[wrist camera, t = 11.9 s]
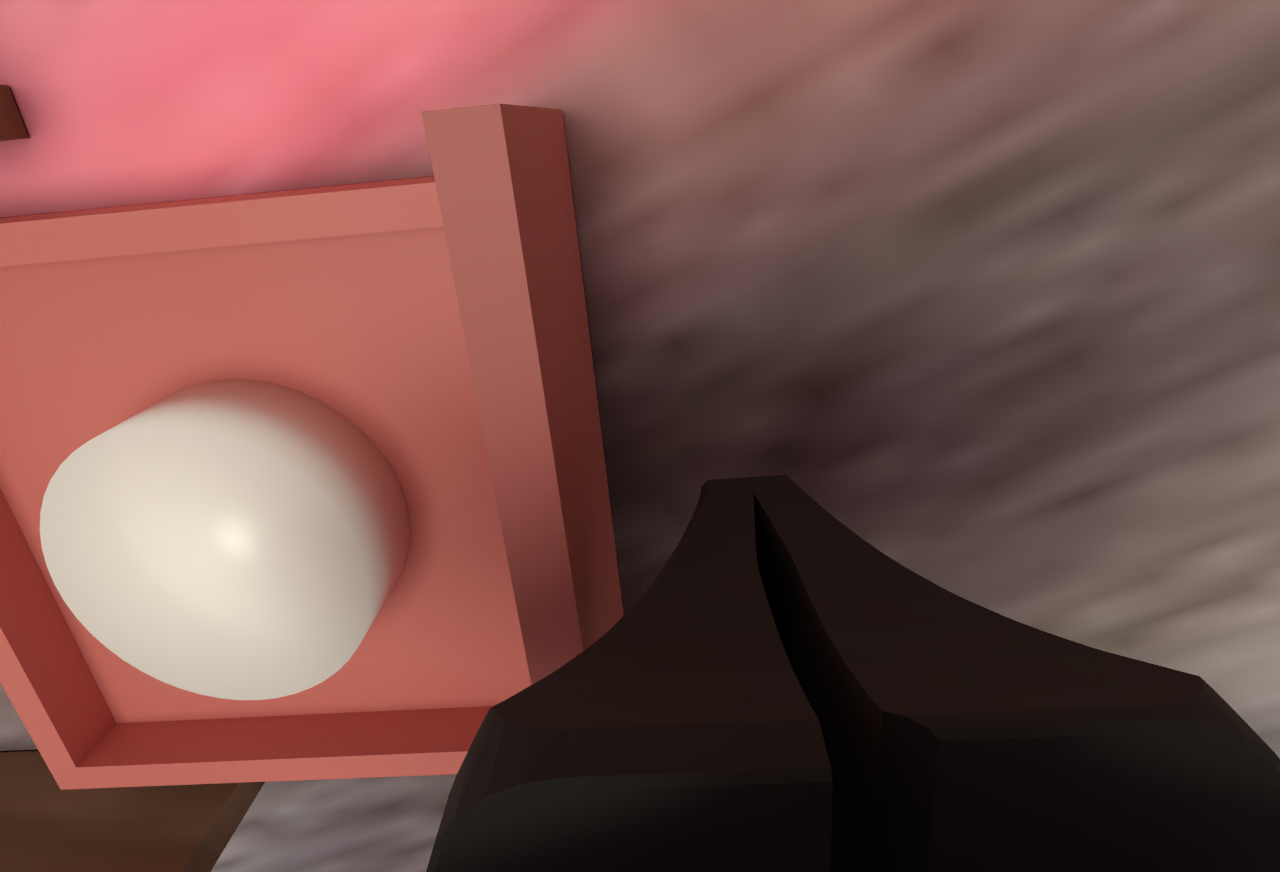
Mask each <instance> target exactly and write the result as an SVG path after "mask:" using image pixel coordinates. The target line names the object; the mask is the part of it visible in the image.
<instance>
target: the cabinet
mask: <svg viewBox="0 0 1280 872" xmlns="http://www.w3.org/2000/svg"><path fill="white" fill-rule="evenodd" d="M24 138H29V137H28V135H27V132H26V129H25V127H24V124H23V122H22V119H21V117H20V114H19V112H18V109H17V107H16V104H15V101H14V99H13V96H12V94H11V91H10V89H9V86H4V85H0V141H5V140H15V139H24ZM263 784H264V782H243V783H217V784H192V785H167V786H142V787H116V788H91V789H66V790H60V788H59V786H58V784H57V782H56V781H55V779H54V777H53V775H52V773H51V772H50V770H49V768H48V766H47V765H46V763H45V761H44V759H43V757H42V756H41V754H40V752H39V751H22V752H0V872H210V871H211V870H212V868H213V866H214V865H215V863H216V862H217V860H218V858H219V857H220V855H221V853H222V852H223V850H224V848H225V847H226V845H227V843H228V842H229V840H230V838H231V837H232V835H233V834H234V832H235V830H236V829H237V827H238V825H239V824H240V822H241V820H242V819H243V817H244V815H245V814H246V812H247V810H248V809H249V807H250V806H251V804H252V802H253V801H254V799H255V797H256V796H257V794H258V792H259V791H260V789H261V787H262V786H263Z"/></svg>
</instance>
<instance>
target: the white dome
mask: <svg viewBox="0 0 1280 872" xmlns="http://www.w3.org/2000/svg"><path fill="white" fill-rule="evenodd" d="M40 538H41V546H42V551H43V554H44V558H45V562H46V565H47V568H48V570H49V573H50V575H51V577H52V580H53V582H54V584H55V586H56V588H57V590H58V591H59V593H60V595H61V597H62V598H63V600H64V602H65V603H66V604H67V606H68V607H69V608H70V610H71V611H72V613H73V614H74V615H75V617H76V618H77V619H78V620H79V621H80V622H81V623H82V625H83V626H84V627H85V628H86V629H87V630H88V631H89V632H90V633H91V634H92V635H93V636H94V637H95V638H96V639H97V640H98V641H100V642H101V643H102V644H103V645H104V646H105V647H106V648H108V649H109V650H110V651H112V652H113V653H114V654H116V655H117V656H118V657H120V658H121V659H122V660H124V661H125V662H127V663H129V664H130V665H132V666H133V667H135V668H137V669H138V670H140V671H142V672H144V673H146V674H148V675H150V676H152V677H154V678H156V679H158V680H160V681H162V682H165V683H167V684H170V685H172V686H175V687H177V688H180V689H183V690H187V691H190V692H193V693H197V694H200V695H206V696H211V697H216V698H222V699H232V700H264V699H274V698H280V697H284V696H288V695H293V694H296V693H299V692H301V691H304V690H307V689H310V688H312V687H314V686H316V685H317V684H319V683H321V682H323V681H325V680H326V679H328V678H329V677H331V676H332V675H333V674H335V673H336V672H337V671H339V670H340V669H341V668H342V667H343V666H344V664H345V663H346V662H347V661H348V660H349V659H350V658H351V657H352V655H353V654H354V652H355V651H356V649H357V648H358V647H359V645H360V643H361V642H362V640H363V638H364V636H365V635H366V633H367V631H368V630H369V628H370V626H371V624H372V623H373V621H374V619H375V618H376V616H377V614H378V613H379V611H380V609H381V607H382V606H383V604H384V602H385V601H386V599H387V597H388V595H389V594H390V592H391V590H392V589H393V587H394V585H395V584H396V582H397V580H398V578H399V576H400V574H401V572H402V570H403V568H404V565H405V562H406V558H407V555H408V551H409V543H410V519H409V514H408V508H407V503H406V500H405V497H404V494H403V491H402V488H401V486H400V484H399V482H398V480H397V478H396V476H395V474H394V471H393V470H392V468H391V467H390V465H389V464H388V462H387V460H386V459H385V457H384V456H383V454H382V453H381V452H380V451H379V450H378V448H377V447H376V446H375V445H374V444H373V442H372V441H371V440H370V439H369V438H368V437H367V436H366V435H365V434H364V433H363V432H362V431H361V430H360V429H359V428H358V427H357V426H356V425H354V424H353V423H352V422H350V421H349V420H348V419H347V418H345V417H344V416H343V415H341V414H340V413H339V412H337V411H335V410H334V409H332V408H330V407H329V406H327V405H326V404H324V403H322V402H321V401H318V400H316V399H314V398H312V397H310V396H308V395H306V394H304V393H301V392H298V391H296V390H293V389H290V388H287V387H284V386H280V385H276V384H271V383H267V382H262V381H253V380H244V379H232V380H217V381H211V382H204V383H201V384H197V385H194V386H191V387H187V388H185V389H183V390H181V391H179V392H177V393H174V394H172V395H170V396H168V397H167V398H165V399H163V400H161V401H159V402H158V403H156V404H154V405H152V406H151V407H149V408H147V409H145V410H143V411H142V412H140V413H138V414H136V415H134V416H133V417H131V418H129V419H127V420H125V421H124V422H122V423H120V424H118V425H116V426H115V427H113V428H111V429H109V430H107V431H106V432H104V433H102V434H100V435H98V436H97V437H95V438H93V439H91V440H89V441H88V442H86V443H85V444H83V445H82V446H81V447H79V448H78V449H76V450H75V451H74V452H72V453H71V454H70V456H69V457H68V458H67V459H66V460H65V461H64V462H63V463H62V464H61V465H60V466H59V468H58V469H57V471H56V472H55V474H54V475H53V477H52V478H51V480H50V482H49V485H48V487H47V489H46V492H45V494H44V498H43V502H42V507H41V512H40Z"/></svg>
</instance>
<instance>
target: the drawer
mask: <svg viewBox="0 0 1280 872" xmlns="http://www.w3.org/2000/svg"><path fill="white" fill-rule="evenodd" d="M422 117H423V122H424V127H425V132H426V138H427V143H428V148H429V153H430V158H431V164H432V169H433V174H434V176H431V177H421V178H410V179H400V180H390V181H379V182H369V183H358V184H348V185H338V186H327V187H317V188H306V189H296V190H285V191H275V192H265V193H254V194H244V195H233V196H223V197H213V198H202V199H192V200H181V201H171V202H160V203H150V204H140V205H129V206H119V207H108V208H98V209H88V210H77V211H67V212H56V213H46V214H35V215H25V216H15V217H4V218H0V683H1V684H2V686H3V688H4V690H5V691H6V693H7V695H8V697H9V699H10V700H11V702H12V704H13V706H14V708H15V709H16V711H17V713H18V715H19V716H20V718H21V720H22V722H23V724H24V725H25V727H26V729H27V731H28V732H29V734H30V736H31V738H32V740H33V741H34V743H35V745H36V747H37V749H38V750H39V752H40V754H41V756H42V757H43V759H44V761H45V763H46V765H47V766H48V768H49V770H50V772H51V773H52V775H53V777H54V779H55V781H56V782H57V784H58V786H59V788H60V790H66V789H91V788H116V787H142V786H167V785H192V784H217V783H243V782H268V781H293V780H319V779H344V778H369V777H395V776H420V775H445V774H457V773H458V771H459V769H460V767H461V765H462V763H463V761H464V759H465V756H466V754H467V752H468V750H469V748H470V746H471V744H472V742H473V740H474V738H475V736H476V734H477V732H478V730H479V728H480V726H481V724H482V722H483V720H484V718H485V716H486V714H487V712H488V710H489V709H490V708H491V707H493V706H495V705H497V704H499V703H501V702H503V701H504V700H506V699H508V698H510V697H511V696H513V695H515V694H517V693H518V692H520V691H522V690H524V689H525V688H527V687H529V686H531V685H532V684H534V683H536V682H538V681H539V680H541V679H543V678H545V677H546V676H548V675H550V674H551V673H553V672H554V671H556V670H557V669H559V668H560V667H562V666H563V665H565V664H566V663H567V662H569V661H570V660H572V659H573V658H575V657H576V656H577V655H579V654H580V653H582V652H583V651H584V650H585V649H587V648H588V647H589V646H591V645H592V644H593V643H594V642H596V641H597V640H598V639H600V638H601V637H602V636H603V635H604V634H605V633H606V632H608V631H609V630H610V629H611V628H612V627H613V626H614V625H615V624H616V623H617V622H618V621H619V620H620V619H621V618H622V617H623V616H624V614H623V606H622V598H621V590H620V581H619V573H618V565H617V557H616V549H615V540H614V532H613V524H612V516H611V507H610V499H609V491H608V483H607V475H606V466H605V458H604V450H603V442H602V434H601V425H600V417H599V409H598V401H597V393H596V384H595V376H594V368H593V360H592V351H591V343H590V335H589V327H588V319H587V310H586V302H585V294H584V286H583V278H582V269H581V261H580V253H579V245H578V237H577V228H576V220H575V212H574V204H573V195H572V187H571V179H570V171H569V163H568V154H567V146H566V138H565V130H564V122H563V113H562V110H558V109H548V108H538V107H528V106H517V105H507V104H493V105H483V106H474V107H464V108H454V109H444V110H434V111H425V112H422ZM232 379H244V380H253V381H262V382H267V383H271V384H276V385H280V386H284V387H287V388H290V389H293V390H296V391H298V392H301V393H304V394H306V395H308V396H310V397H312V398H314V399H316V400H318V401H321V402H322V403H324V404H326V405H327V406H329V407H330V408H332V409H334V410H335V411H337V412H339V413H340V414H341V415H343V416H344V417H345V418H347V419H348V420H349V421H350V422H352V423H353V424H354V425H356V426H357V427H358V428H359V429H360V430H361V431H362V432H363V433H364V434H365V435H366V436H367V437H368V438H369V439H370V440H371V441H372V442H373V444H374V445H375V446H376V447H377V448H378V450H379V451H380V452H381V453H382V454H383V456H384V457H385V459H386V460H387V462H388V464H389V465H390V467H391V468H392V470H393V471H394V474H395V476H396V478H397V480H398V482H399V484H400V486H401V488H402V491H403V494H404V497H405V500H406V503H407V508H408V514H409V519H410V543H409V551H408V555H407V558H406V562H405V565H404V568H403V570H402V572H401V574H400V576H399V578H398V580H397V582H396V584H395V585H394V587H393V589H392V590H391V592H390V594H389V595H388V597H387V599H386V601H385V602H384V604H383V606H382V607H381V609H380V611H379V613H378V614H377V616H376V618H375V619H374V621H373V623H372V624H371V626H370V628H369V630H368V631H367V633H366V635H365V636H364V638H363V640H362V642H361V643H360V645H359V647H358V648H357V649H356V651H355V652H354V654H353V655H352V657H351V658H350V659H349V660H348V661H347V662H346V663H345V664H344V666H343V667H342V668H341V669H340V670H339V671H337V672H336V673H335V674H333V675H332V676H331V677H329V678H328V679H326V680H325V681H323V682H321V683H319V684H317V685H316V686H314V687H312V688H310V689H307V690H304V691H301V692H299V693H296V694H293V695H288V696H284V697H280V698H274V699H264V700H232V699H222V698H216V697H211V696H206V695H200V694H197V693H193V692H190V691H187V690H183V689H180V688H177V687H175V686H172V685H170V684H167V683H165V682H162V681H160V680H158V679H156V678H154V677H152V676H150V675H148V674H146V673H144V672H142V671H140V670H138V669H137V668H135V667H133V666H132V665H130V664H129V663H127V662H125V661H124V660H122V659H121V658H120V657H118V656H117V655H116V654H114V653H113V652H112V651H110V650H109V649H108V648H106V647H105V646H104V645H103V644H102V643H101V642H100V641H98V640H97V639H96V638H95V637H94V636H93V635H92V634H91V633H90V632H89V631H88V630H87V629H86V628H85V627H84V626H83V625H82V623H81V622H80V621H79V620H78V619H77V618H76V617H75V615H74V614H73V613H72V611H71V610H70V608H69V607H68V606H67V604H66V603H65V602H64V600H63V598H62V597H61V595H60V593H59V591H58V590H57V588H56V586H55V584H54V582H53V580H52V577H51V575H50V573H49V570H48V568H47V565H46V562H45V558H44V554H43V551H42V546H41V538H40V512H41V507H42V502H43V498H44V494H45V492H46V489H47V487H48V485H49V482H50V480H51V478H52V477H53V475H54V474H55V472H56V471H57V469H58V468H59V466H60V465H61V464H62V463H63V462H64V461H65V460H66V459H67V458H68V457H69V456H70V454H71V453H72V452H74V451H75V450H76V449H78V448H79V447H81V446H82V445H83V444H85V443H86V442H88V441H89V440H91V439H93V438H95V437H97V436H98V435H100V434H102V433H104V432H106V431H107V430H109V429H111V428H113V427H115V426H116V425H118V424H120V423H122V422H124V421H125V420H127V419H129V418H131V417H133V416H134V415H136V414H138V413H140V412H142V411H143V410H145V409H147V408H149V407H151V406H152V405H154V404H156V403H158V402H159V401H161V400H163V399H165V398H167V397H168V396H170V395H172V394H174V393H177V392H179V391H181V390H183V389H185V388H187V387H191V386H194V385H197V384H201V383H204V382H211V381H217V380H232Z"/></svg>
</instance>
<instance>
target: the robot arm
mask: <svg viewBox="0 0 1280 872" xmlns="http://www.w3.org/2000/svg"><path fill="white" fill-rule="evenodd" d="M426 872H1280V759H1279V758H1278V756H1277V755H1276V754H1275V753H1274V752H1273V750H1272V749H1271V748H1270V747H1269V746H1268V745H1267V744H1266V743H1265V742H1264V741H1263V740H1262V739H1261V738H1260V737H1259V736H1258V735H1257V734H1256V733H1255V732H1254V731H1253V730H1252V729H1251V728H1250V726H1249V725H1248V724H1247V723H1246V722H1245V721H1244V720H1243V719H1242V718H1241V717H1240V716H1239V715H1238V714H1237V713H1236V712H1235V711H1234V710H1233V709H1232V708H1231V707H1230V706H1229V705H1228V704H1227V703H1226V702H1225V701H1224V700H1223V699H1222V698H1221V697H1220V696H1219V695H1218V694H1217V693H1216V692H1215V690H1214V689H1212V688H1211V687H1210V686H1209V685H1208V684H1207V683H1206V682H1205V681H1204V680H1203V679H1202V678H1201V677H1200V676H1196V675H1192V674H1188V673H1184V672H1181V671H1177V670H1173V669H1169V668H1165V667H1162V666H1158V665H1154V664H1150V663H1146V662H1143V661H1139V660H1135V659H1131V658H1127V657H1124V656H1120V655H1116V654H1112V653H1108V652H1105V651H1101V650H1098V649H1095V648H1091V647H1088V646H1085V645H1082V644H1079V643H1076V642H1073V641H1070V640H1067V639H1064V638H1061V637H1059V636H1056V635H1053V634H1050V633H1047V632H1044V631H1041V630H1038V629H1035V628H1033V627H1030V626H1028V625H1025V624H1022V623H1020V622H1017V621H1014V620H1012V619H1009V618H1007V617H1004V616H1002V615H1000V614H998V613H995V612H993V611H991V610H988V609H986V608H984V607H982V606H979V605H977V604H975V603H972V602H970V601H968V600H966V599H963V598H961V597H959V596H957V595H955V594H953V593H951V592H949V591H947V590H945V589H943V588H941V587H939V586H938V585H936V584H934V583H932V582H930V581H929V580H927V579H925V578H923V577H921V576H919V575H918V574H916V573H914V572H912V571H910V570H909V569H907V568H905V567H904V566H902V565H900V564H899V563H897V562H895V561H894V560H892V559H891V558H889V557H888V556H886V555H885V554H883V553H882V552H880V551H879V550H877V549H876V548H875V547H873V546H872V545H870V544H869V543H867V542H866V541H864V540H863V539H862V538H860V537H859V536H858V535H856V534H855V533H853V532H852V531H851V530H849V529H848V528H847V527H846V526H844V525H843V524H842V523H841V522H839V521H838V520H837V519H836V518H834V517H833V516H832V515H831V514H829V513H828V512H827V511H826V510H825V509H823V508H822V507H821V506H820V505H819V504H818V503H817V502H815V501H814V500H813V499H812V498H811V497H810V496H809V495H808V494H807V493H805V492H804V491H803V490H802V489H801V488H800V487H799V486H798V485H796V484H795V483H794V482H793V481H792V480H791V479H790V478H789V477H787V476H786V475H781V476H765V477H749V478H733V479H716V480H708V481H707V482H706V483H705V484H704V485H703V486H702V487H701V494H700V498H699V502H698V504H697V507H696V510H695V512H694V514H693V517H692V519H691V521H690V523H689V525H688V527H687V529H686V531H685V533H684V535H683V537H682V539H681V540H680V542H679V544H678V546H677V547H676V549H675V550H674V552H673V554H672V555H671V557H670V558H669V560H668V561H667V563H666V564H665V566H664V567H663V569H662V571H661V572H660V573H659V575H658V576H657V577H656V579H655V580H654V581H653V583H652V584H651V585H650V587H649V588H648V589H647V590H646V592H645V593H644V594H643V595H642V596H641V597H640V599H639V600H638V601H637V602H636V603H635V604H634V606H633V607H632V608H631V609H630V610H629V611H628V612H627V613H626V614H625V615H624V616H623V617H622V618H621V619H620V620H619V621H618V622H617V623H616V624H615V625H614V626H613V627H612V628H611V629H610V630H609V631H608V632H606V633H605V634H604V635H603V636H602V637H601V638H600V639H598V640H597V641H596V642H594V643H593V644H592V645H591V646H589V647H588V648H587V649H585V650H584V651H583V652H582V653H580V654H579V655H577V656H576V657H575V658H573V659H572V660H570V661H569V662H567V663H566V664H565V665H563V666H562V667H560V668H559V669H557V670H556V671H554V672H553V673H551V674H550V675H548V676H546V677H545V678H543V679H541V680H539V681H538V682H536V683H534V684H532V685H531V686H529V687H527V688H525V689H524V690H522V691H520V692H518V693H517V694H515V695H513V696H511V697H510V698H508V699H506V700H504V701H503V702H501V703H499V704H497V705H495V706H493V707H491V708H490V709H489V710H488V712H487V714H486V716H485V718H484V720H483V722H482V724H481V726H480V728H479V730H478V732H477V734H476V736H475V738H474V740H473V742H472V744H471V746H470V748H469V750H468V752H467V754H466V756H465V759H464V761H463V763H462V765H461V767H460V769H459V771H458V773H457V776H456V778H455V781H454V783H453V786H452V789H451V791H450V794H449V797H448V800H447V804H446V807H445V810H444V814H443V817H442V820H441V824H440V827H439V830H438V834H437V837H436V840H435V844H434V847H433V851H432V854H431V857H430V861H429V864H428V868H427V871H426Z"/></svg>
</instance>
